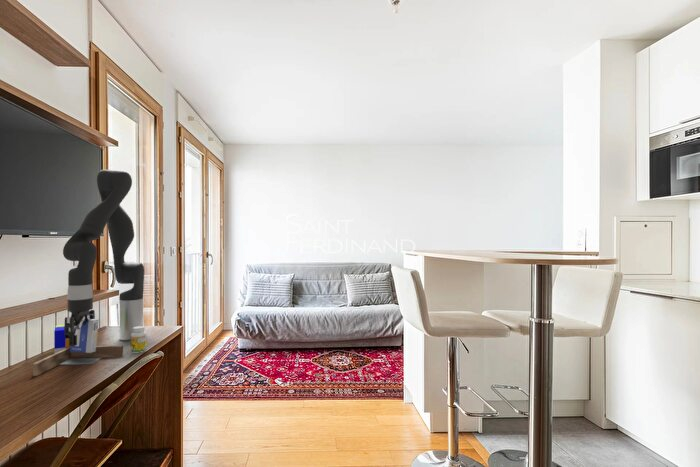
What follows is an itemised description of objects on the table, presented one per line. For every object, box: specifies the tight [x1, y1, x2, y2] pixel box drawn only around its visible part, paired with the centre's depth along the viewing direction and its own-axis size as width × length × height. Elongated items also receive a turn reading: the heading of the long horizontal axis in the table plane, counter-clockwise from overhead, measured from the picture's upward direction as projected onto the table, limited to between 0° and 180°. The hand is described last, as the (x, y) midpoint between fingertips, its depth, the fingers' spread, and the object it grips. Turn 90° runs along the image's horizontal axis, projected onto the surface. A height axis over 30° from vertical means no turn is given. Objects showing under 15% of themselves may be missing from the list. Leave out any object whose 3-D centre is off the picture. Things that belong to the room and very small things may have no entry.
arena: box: [32, 345, 124, 377], centre depth 139 cm, size 19×19×4 cm
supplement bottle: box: [130, 325, 148, 354], centre depth 154 cm, size 5×5×10 cm
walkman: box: [70, 318, 100, 353], centre depth 146 cm, size 8×3×12 cm, turn 88°
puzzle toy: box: [53, 324, 70, 354], centre depth 154 cm, size 10×10×10 cm
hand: (80, 342), depth 143 cm, fingers open, 8 cm apart
